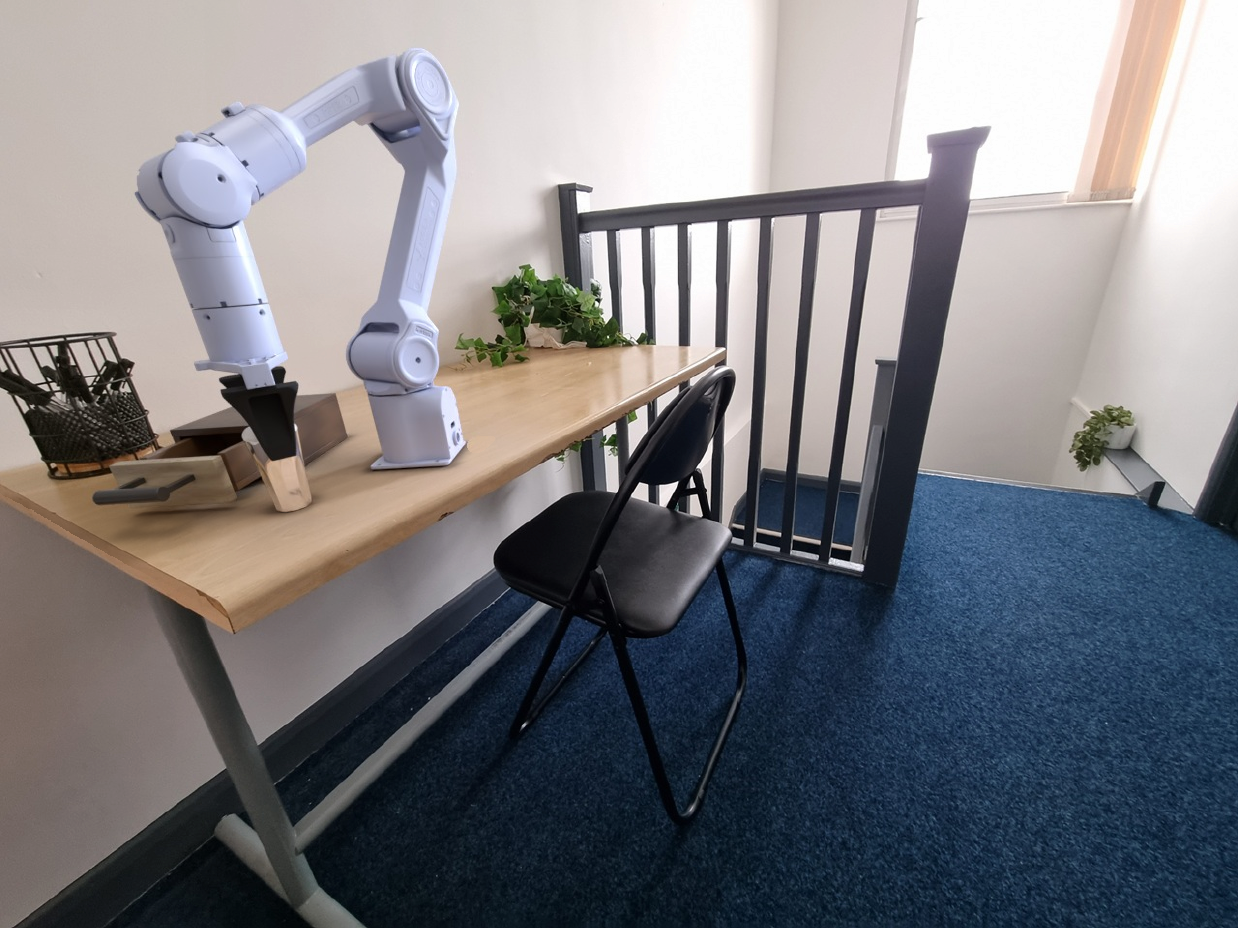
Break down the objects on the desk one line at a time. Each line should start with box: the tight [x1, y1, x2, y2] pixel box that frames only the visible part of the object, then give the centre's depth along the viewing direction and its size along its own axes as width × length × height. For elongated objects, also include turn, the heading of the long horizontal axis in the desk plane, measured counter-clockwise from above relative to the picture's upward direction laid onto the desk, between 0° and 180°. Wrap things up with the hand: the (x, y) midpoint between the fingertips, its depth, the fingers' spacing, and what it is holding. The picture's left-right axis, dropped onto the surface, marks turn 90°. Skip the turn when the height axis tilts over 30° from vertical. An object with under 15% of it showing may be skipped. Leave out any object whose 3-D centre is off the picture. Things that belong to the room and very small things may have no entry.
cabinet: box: [169, 392, 348, 480], centre depth 65 cm, size 15×12×7 cm
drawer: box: [91, 433, 261, 509], centre depth 54 cm, size 18×10×5 cm, turn 1°
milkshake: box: [242, 423, 313, 513], centre depth 50 cm, size 4×5×10 cm
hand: (279, 448), depth 50 cm, fingers open, 7 cm apart
